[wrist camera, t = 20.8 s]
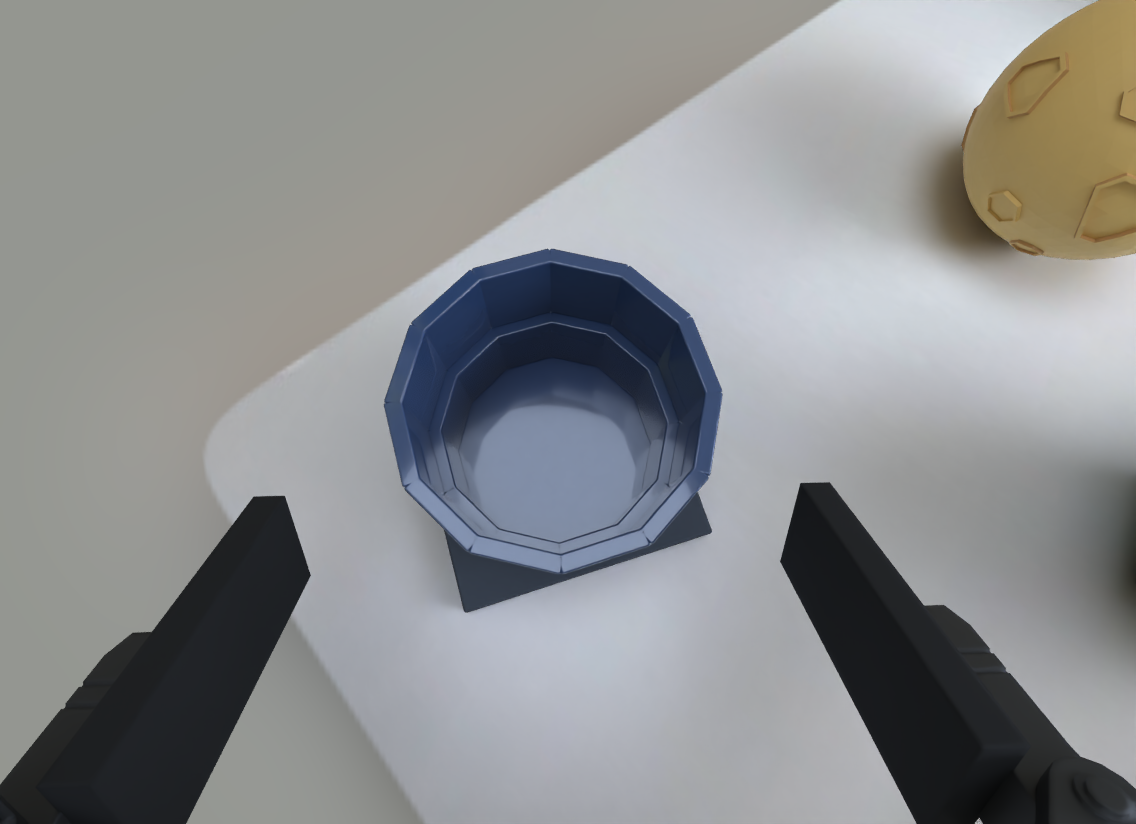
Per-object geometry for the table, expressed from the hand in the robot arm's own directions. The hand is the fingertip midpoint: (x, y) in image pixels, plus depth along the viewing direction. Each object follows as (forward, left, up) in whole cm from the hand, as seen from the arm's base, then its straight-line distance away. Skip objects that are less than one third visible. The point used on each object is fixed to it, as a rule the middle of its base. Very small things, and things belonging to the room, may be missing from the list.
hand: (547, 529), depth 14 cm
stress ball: (+26, +8, -8) cm, 29 cm away
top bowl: (+1, +3, -7) cm, 8 cm away
